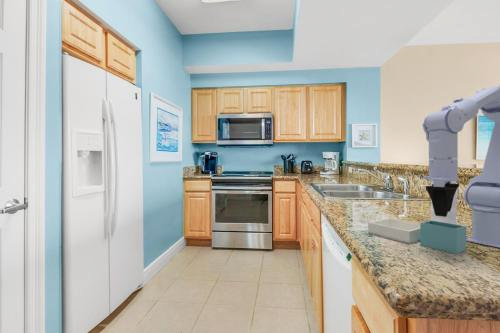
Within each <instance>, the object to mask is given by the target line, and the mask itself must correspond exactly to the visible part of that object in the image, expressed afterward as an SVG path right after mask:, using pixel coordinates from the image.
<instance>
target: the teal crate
mask: <svg viewBox="0 0 500 333" xmlns="http://www.w3.org/2000/svg"><path fill="white" fill-rule="evenodd" d="M419 224H420V241H419V242H420V243H419V244H420V245H419V246H423V247H425V248H431V249H434V250H438V251H443V252H447V253H451V254H453V255H458V254H460V253H463V252H465V251H467V241H466V239H467V226H466V225H461V224H457V225H456V224H450V223H444V222H438V221H432V220H431V219H430V220H426V221H422V222H420V223H419Z"/></svg>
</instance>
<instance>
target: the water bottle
mask: <svg viewBox="0 0 500 333" xmlns="http://www.w3.org/2000/svg"><path fill="white" fill-rule="evenodd" d="M451 183H452V184H457V181H451ZM432 184H433V181H431V180H430V186H432ZM457 196H458V189H457V190H456V192H455V195H454V198H453V202H452V207H451V210H450V212H448V213H447V216H446V217H443V216H436V215H435V213H434V209H433V204H432V200H431V199H430V220H432V221H438V222H444V223H450V224H456V225H458V224H457V222H458V221H457V215H458V214H457V212H458V211H457V200H458V199H457Z"/></svg>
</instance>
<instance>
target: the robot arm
mask: <svg viewBox="0 0 500 333" xmlns="http://www.w3.org/2000/svg"><path fill="white" fill-rule="evenodd" d="M452 102H453V103H451V104H450V105H445V106H443V107H441V110H439V111H434V112H430V113H428V115H427V116H426V117H425V118H424V121H423V123H422V128H423V132H424V134H425V139H426V141H427V142H428V175H425V176H422V177H423V180H429V181H430V182H431V181H433V184H432V186H431V185H425V190H426V192H427V193H428V195H429V198H430V201H431V200H432V204H433V209H434V213H435V215H436V216H443V217H446V216H447V213H448V212H450V210H451V207H452V202H453V198H454V195H455V192H456V190H457V191H458V188H459V187H460V183H456V184H452V183H451V181H456V182H457V181H459V180H460V178H459V176H458V175H459V174H458V168H459V166H458V164H459V162H458V159H459V157H458V156H459V154H458V153H459V152H458V147H459V146H458V145H459V144H458V143H459V141H458V139H459V138H458V137H459V134H458V132H459V133H460V132H462V131H463V129H464V126H465V124H466V123H468V122H469V121H471V120H472V119H474V118H475V117H477V115H478V114H479V110H480V111H481V113H482V114H483V116H484V117H485V119H486V120H489V121H493V122H494V124H493V128H492V133H491V135H490V136H491V137H490V139H489V143H488V147H487V152H486V156H485V159H484V163H483V167H482V171H481V173H479V174H478V175H476V176H473V177H472V178H470V179H469V182H468V184H467V186H466V188H465V189H464V191H463V200H464V202H465V204H466V205H467V206H468V207H469V209H471V212H472V213H471V232H472V233H471V237H466V242H470V243H475V244H480V245H485V246H490V247H494V248H497V249H498V248H499V249H500V85H496V86H492V87H487V88H481V89H479V90H477V91H476V92H475V94H474V95H472V96H471V97H469V98H463V97H459V98H455V99H453V101H452Z"/></svg>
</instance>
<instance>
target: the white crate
mask: <svg viewBox="0 0 500 333" xmlns="http://www.w3.org/2000/svg"><path fill="white" fill-rule="evenodd" d="M367 225H368V226H367V228H368V229H367V234H369V235H371V236H372V235H373V236H375V237H376V236H377V237H379V238H383V239H388V240H393V241H395V242H399V243H403V244H407V245H411V244H414V243H418V242H420V223H416V222H412V221H407V220H399V219H395V218H389V217H388V218H383V219H382V218H381V219H379V220H374V221H369V222H367Z"/></svg>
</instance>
